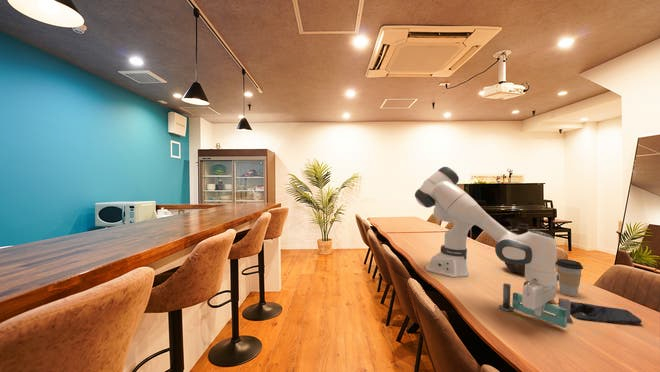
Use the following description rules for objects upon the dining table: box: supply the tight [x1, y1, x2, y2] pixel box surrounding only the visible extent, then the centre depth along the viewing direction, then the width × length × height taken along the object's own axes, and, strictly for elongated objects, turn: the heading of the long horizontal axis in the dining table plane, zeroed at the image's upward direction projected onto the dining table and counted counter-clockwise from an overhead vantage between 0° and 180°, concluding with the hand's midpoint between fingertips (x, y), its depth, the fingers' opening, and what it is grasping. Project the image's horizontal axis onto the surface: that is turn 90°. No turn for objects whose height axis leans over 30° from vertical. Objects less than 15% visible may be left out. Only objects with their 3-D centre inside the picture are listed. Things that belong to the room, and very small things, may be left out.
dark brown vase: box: [504, 222, 529, 276], centre depth 147 cm, size 18×18×28 cm
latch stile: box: [554, 297, 574, 324], centre depth 98 cm, size 4×4×8 cm
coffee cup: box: [555, 258, 584, 297], centre depth 120 cm, size 9×9×15 cm
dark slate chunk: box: [556, 300, 642, 325], centre depth 102 cm, size 15×22×5 cm
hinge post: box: [498, 282, 515, 313], centre depth 105 cm, size 5×5×10 cm
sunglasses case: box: [523, 280, 558, 306], centre depth 119 cm, size 18×7×7 cm, turn 157°
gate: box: [511, 292, 568, 329], centre depth 97 cm, size 16×2×6 cm, turn 33°
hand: (539, 314), depth 94 cm, fingers closed
